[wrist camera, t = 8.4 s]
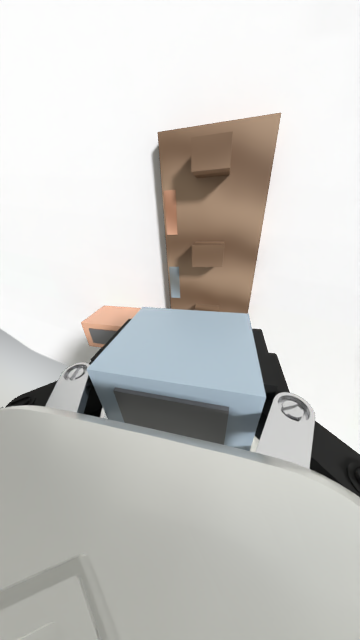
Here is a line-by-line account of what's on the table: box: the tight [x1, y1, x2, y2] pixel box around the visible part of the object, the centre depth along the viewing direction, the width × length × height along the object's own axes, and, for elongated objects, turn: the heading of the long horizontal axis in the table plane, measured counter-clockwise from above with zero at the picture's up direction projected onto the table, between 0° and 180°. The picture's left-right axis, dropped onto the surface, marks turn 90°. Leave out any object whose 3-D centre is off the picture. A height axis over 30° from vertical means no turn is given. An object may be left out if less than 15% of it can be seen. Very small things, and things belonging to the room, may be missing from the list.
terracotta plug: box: [81, 306, 141, 347], centre depth 27 cm, size 4×6×6 cm, turn 93°
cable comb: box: [158, 113, 281, 314], centre depth 19 cm, size 20×10×4 cm, turn 2°
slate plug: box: [86, 307, 266, 451], centre depth 9 cm, size 4×6×6 cm, turn 93°
